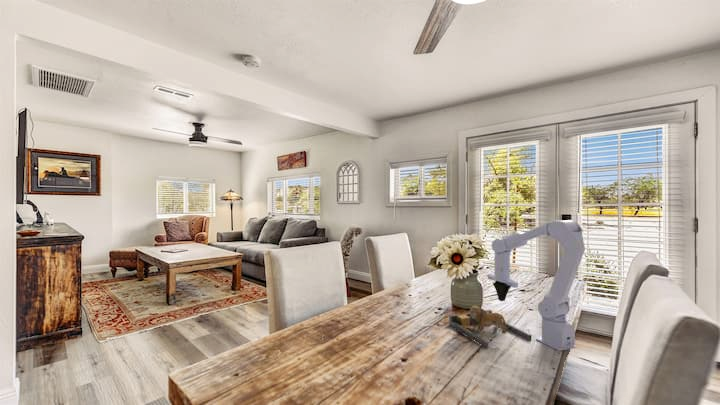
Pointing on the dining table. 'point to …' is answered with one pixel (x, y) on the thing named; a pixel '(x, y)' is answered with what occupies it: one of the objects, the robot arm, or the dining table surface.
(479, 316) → the lion figurine
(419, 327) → the dining table surface
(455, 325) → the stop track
